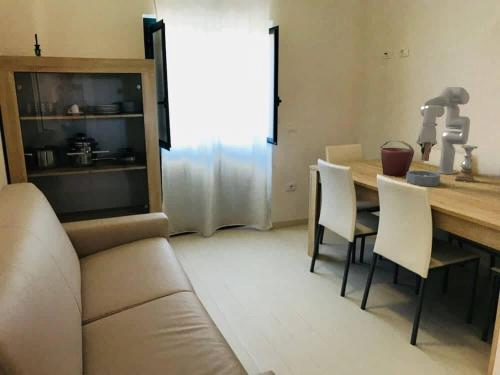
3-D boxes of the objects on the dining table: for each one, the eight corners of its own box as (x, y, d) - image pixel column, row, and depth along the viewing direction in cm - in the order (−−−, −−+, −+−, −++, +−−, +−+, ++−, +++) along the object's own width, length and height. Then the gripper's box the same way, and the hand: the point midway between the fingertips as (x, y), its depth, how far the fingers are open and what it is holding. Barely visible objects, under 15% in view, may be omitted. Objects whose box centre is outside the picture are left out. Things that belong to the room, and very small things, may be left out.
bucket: (371, 172, 294) (374, 139, 288) (392, 170, 304) (395, 138, 298) (397, 179, 273) (400, 143, 267) (419, 176, 283) (422, 141, 277)
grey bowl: (402, 179, 272) (403, 170, 271) (432, 180, 270) (433, 170, 269) (411, 185, 253) (412, 176, 251) (443, 186, 251) (444, 177, 249)
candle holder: (473, 179, 272) (478, 145, 266) (473, 182, 263) (478, 147, 257) (456, 178, 277) (460, 144, 272) (455, 181, 268) (459, 146, 262)
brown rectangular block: (420, 159, 261) (422, 141, 258) (425, 159, 260) (427, 141, 258) (423, 161, 255) (426, 142, 252) (428, 161, 254) (430, 142, 252)
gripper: (439, 125, 255) (436, 153, 259) (414, 124, 257) (411, 152, 261) (444, 126, 248) (440, 154, 252) (417, 125, 249) (414, 154, 254)
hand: (425, 153), depth 257 cm, fingers closed on brown rectangular block, 3 cm apart
